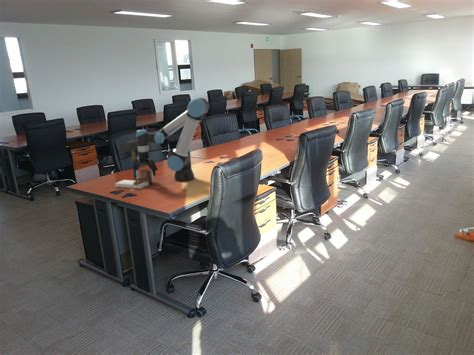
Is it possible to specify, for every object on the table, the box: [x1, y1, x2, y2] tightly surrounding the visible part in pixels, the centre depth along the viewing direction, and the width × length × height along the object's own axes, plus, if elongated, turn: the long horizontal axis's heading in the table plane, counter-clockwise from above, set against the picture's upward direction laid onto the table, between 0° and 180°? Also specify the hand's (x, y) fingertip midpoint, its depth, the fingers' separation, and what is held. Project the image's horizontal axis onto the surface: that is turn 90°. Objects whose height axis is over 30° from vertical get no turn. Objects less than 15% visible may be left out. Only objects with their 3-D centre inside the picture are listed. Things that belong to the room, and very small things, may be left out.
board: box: [114, 179, 150, 190], centre depth 291 cm, size 10×22×3 cm, turn 67°
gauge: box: [133, 168, 153, 185], centre depth 290 cm, size 17×5×10 cm, turn 157°
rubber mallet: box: [123, 139, 138, 179], centre depth 308 cm, size 12×8×30 cm, turn 153°
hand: (146, 179), depth 295 cm, fingers open, 13 cm apart
